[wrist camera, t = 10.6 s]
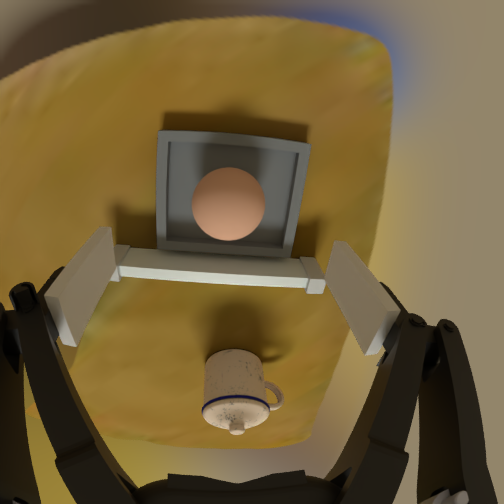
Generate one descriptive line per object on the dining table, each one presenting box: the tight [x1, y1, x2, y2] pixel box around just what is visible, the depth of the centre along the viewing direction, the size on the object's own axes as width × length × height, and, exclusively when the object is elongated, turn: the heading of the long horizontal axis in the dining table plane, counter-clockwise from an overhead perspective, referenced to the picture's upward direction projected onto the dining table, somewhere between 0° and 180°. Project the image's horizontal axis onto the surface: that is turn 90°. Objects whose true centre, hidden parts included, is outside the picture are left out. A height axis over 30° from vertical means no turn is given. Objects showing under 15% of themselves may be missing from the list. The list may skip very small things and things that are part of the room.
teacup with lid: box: [202, 349, 284, 435], centre depth 34 cm, size 12×9×12 cm
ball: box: [192, 167, 265, 240], centre depth 24 cm, size 6×6×6 cm
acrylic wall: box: [110, 244, 326, 294], centre depth 28 cm, size 23×2×5 cm, turn 83°
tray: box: [156, 130, 311, 258], centre depth 26 cm, size 14×12×2 cm
